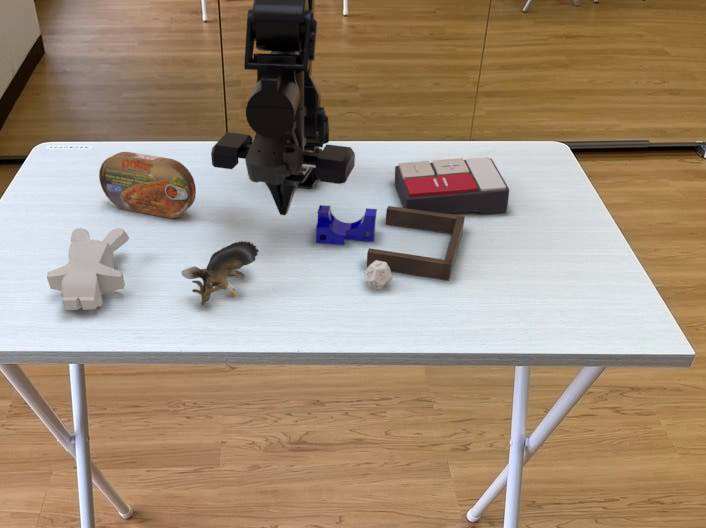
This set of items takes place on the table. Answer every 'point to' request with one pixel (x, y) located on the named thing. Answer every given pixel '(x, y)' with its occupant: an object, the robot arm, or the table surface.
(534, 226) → the table surface
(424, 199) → the calculator
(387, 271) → the game die
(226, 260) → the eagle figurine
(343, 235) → the cable holder
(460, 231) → the square wooden border
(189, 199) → the tin
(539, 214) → the table surface
